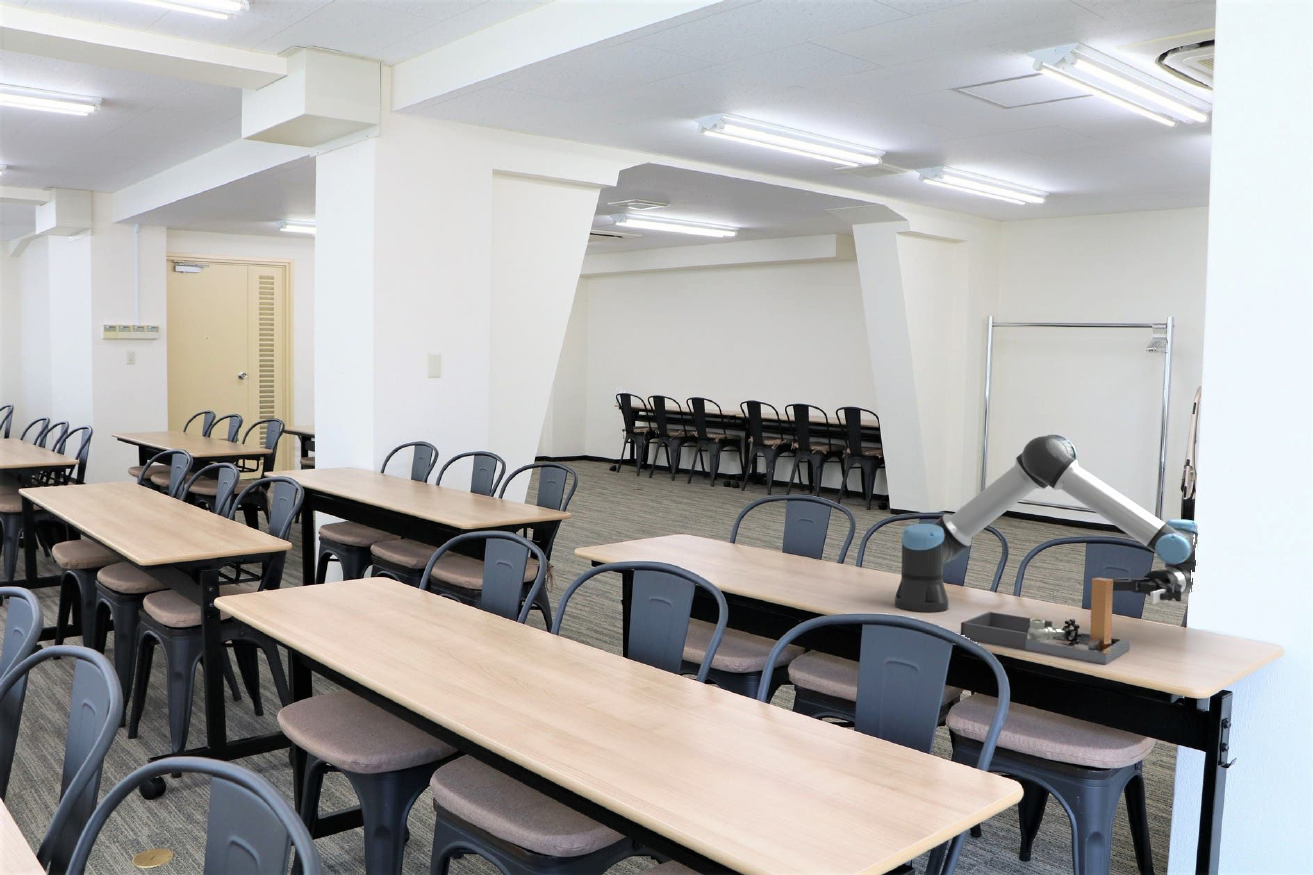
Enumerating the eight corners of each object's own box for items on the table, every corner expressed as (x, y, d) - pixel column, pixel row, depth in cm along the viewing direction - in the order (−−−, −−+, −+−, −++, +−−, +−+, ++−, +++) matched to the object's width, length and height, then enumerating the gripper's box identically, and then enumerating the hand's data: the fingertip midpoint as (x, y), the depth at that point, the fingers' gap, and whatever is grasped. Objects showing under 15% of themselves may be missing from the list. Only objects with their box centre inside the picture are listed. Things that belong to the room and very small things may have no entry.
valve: (1035, 650, 239) (1081, 648, 241) (1036, 623, 239) (1082, 622, 241) (1021, 643, 246) (1065, 642, 248) (1022, 617, 245) (1066, 616, 247)
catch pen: (989, 626, 263) (989, 611, 263) (1051, 636, 252) (1052, 621, 252) (960, 638, 250) (961, 622, 250) (1025, 649, 239) (1026, 633, 239)
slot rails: (1052, 636, 252) (1052, 627, 252) (1129, 649, 240) (1129, 639, 240) (1025, 650, 239) (1025, 639, 239) (1105, 664, 227) (1106, 653, 226)
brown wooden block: (1100, 647, 242) (1102, 574, 241) (1117, 650, 240) (1120, 576, 239) (1082, 657, 232) (1084, 581, 232) (1100, 660, 230) (1102, 584, 229)
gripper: (1214, 605, 245) (1175, 617, 232) (1115, 590, 264) (1074, 600, 251) (1215, 575, 245) (1176, 585, 231) (1115, 562, 264) (1074, 571, 251)
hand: (1123, 593), depth 241 cm, fingers open, 13 cm apart
